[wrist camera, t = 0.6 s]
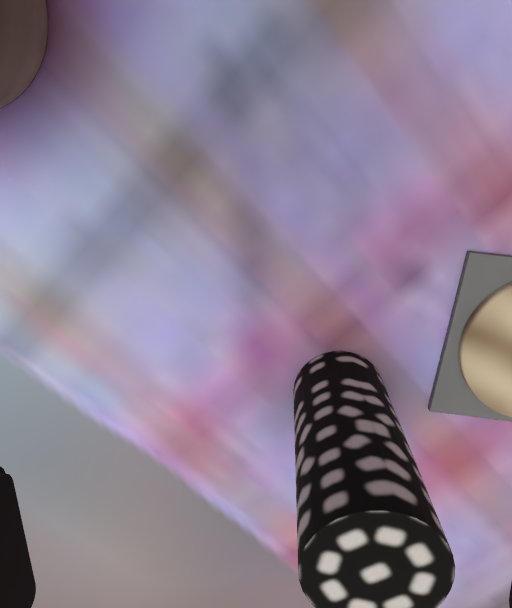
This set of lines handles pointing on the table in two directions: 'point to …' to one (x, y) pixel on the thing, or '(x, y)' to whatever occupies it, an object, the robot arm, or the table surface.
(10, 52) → the plant pot
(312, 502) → the polka dot cylinder
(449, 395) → the mat
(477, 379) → the lid
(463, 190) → the table surface
